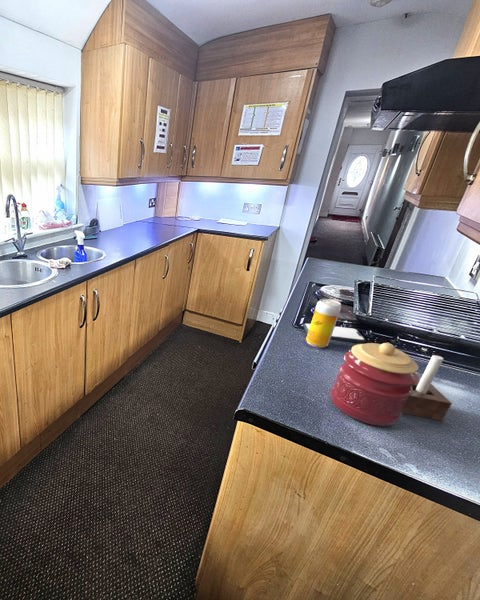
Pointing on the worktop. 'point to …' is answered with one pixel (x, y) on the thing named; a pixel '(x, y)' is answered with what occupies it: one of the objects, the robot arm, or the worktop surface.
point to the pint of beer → (323, 322)
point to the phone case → (343, 334)
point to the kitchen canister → (374, 383)
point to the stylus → (429, 374)
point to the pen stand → (427, 404)
